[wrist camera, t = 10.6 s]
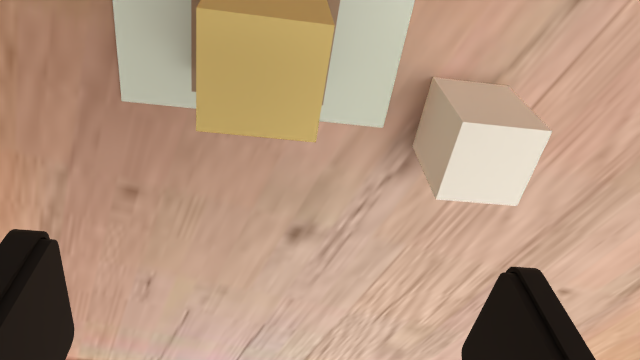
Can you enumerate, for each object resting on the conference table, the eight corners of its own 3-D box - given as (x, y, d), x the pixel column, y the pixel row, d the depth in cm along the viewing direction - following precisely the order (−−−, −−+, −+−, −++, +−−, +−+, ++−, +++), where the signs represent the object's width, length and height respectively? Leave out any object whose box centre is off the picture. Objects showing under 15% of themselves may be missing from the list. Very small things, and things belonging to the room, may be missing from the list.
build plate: (432, -85, 24) (435, -84, 24) (381, 123, 31) (383, 127, 31) (103, -140, 22) (99, -140, 22) (124, 96, 29) (121, 101, 28)
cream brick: (508, 85, 30) (552, 131, 25) (481, 152, 33) (517, 205, 28) (432, 76, 30) (462, 121, 25) (412, 146, 32) (435, 199, 27)
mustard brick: (323, -13, 23) (334, 25, 18) (308, 85, 25) (315, 142, 20) (215, -28, 22) (196, 7, 17) (213, 75, 25) (196, 131, 20)
